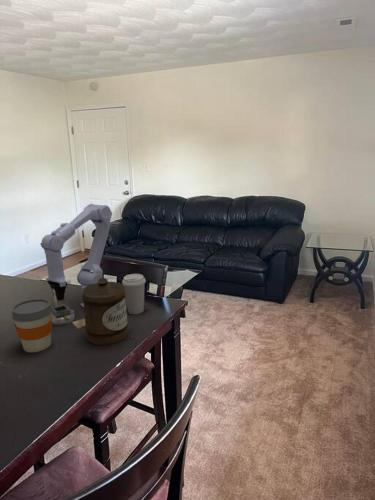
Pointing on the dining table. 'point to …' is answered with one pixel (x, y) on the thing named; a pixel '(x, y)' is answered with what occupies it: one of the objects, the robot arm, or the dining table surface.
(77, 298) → the dining table surface
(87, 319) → the wooden container
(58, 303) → the grey block
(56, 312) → the open square box
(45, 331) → the reusable coffee cup
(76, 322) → the coaster
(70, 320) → the grey frying pan
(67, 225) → the robot arm
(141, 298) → the coffee cup
